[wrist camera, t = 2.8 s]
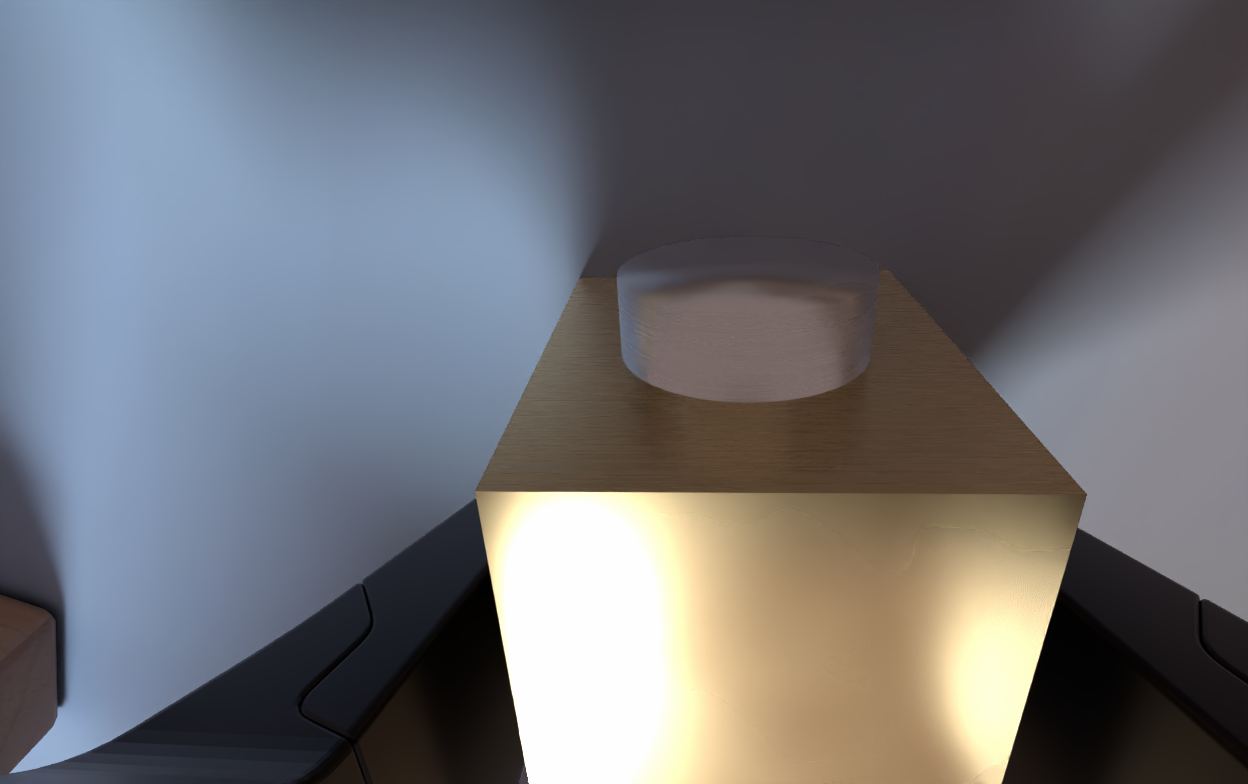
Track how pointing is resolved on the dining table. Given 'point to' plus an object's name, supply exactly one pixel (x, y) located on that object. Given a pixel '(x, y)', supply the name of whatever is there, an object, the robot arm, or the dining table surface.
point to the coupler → (768, 531)
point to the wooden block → (25, 679)
